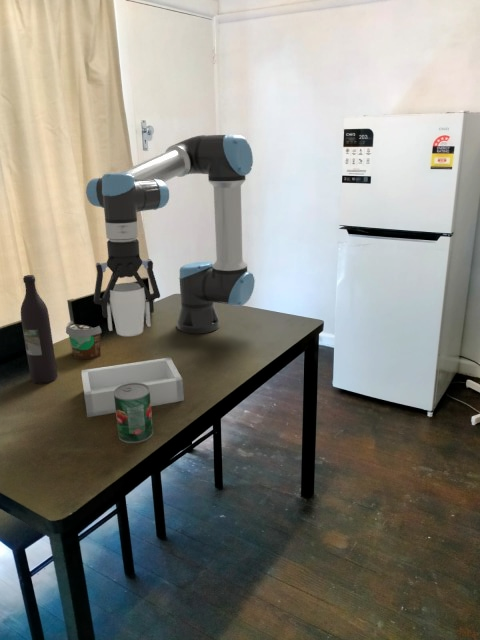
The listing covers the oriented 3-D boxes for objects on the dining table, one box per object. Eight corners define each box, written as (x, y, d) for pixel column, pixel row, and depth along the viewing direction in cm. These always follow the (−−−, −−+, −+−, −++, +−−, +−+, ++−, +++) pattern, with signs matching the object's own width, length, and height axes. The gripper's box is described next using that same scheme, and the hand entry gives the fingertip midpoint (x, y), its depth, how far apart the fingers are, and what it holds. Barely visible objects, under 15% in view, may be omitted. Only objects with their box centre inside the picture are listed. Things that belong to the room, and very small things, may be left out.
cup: (153, 328, 134) (150, 283, 130) (137, 339, 126) (134, 293, 122) (122, 325, 137) (119, 281, 133) (105, 336, 128) (100, 290, 125)
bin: (171, 376, 145) (170, 357, 143) (183, 400, 131) (182, 379, 129) (83, 390, 137) (81, 370, 135) (87, 417, 124) (84, 395, 122)
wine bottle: (30, 376, 146) (13, 274, 136) (55, 371, 149) (41, 271, 139) (32, 386, 140) (15, 280, 130) (59, 381, 143) (44, 277, 133)
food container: (60, 356, 160) (56, 326, 156) (75, 349, 165) (71, 320, 161) (90, 363, 154) (86, 332, 151) (104, 356, 159) (100, 326, 156)
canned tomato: (160, 432, 117) (157, 389, 113) (132, 447, 111) (128, 402, 108) (138, 421, 122) (135, 379, 118) (111, 434, 116) (106, 391, 113)
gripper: (76, 244, 117) (86, 336, 124) (169, 239, 124) (174, 326, 131) (75, 239, 124) (85, 327, 131) (164, 234, 130) (168, 318, 137)
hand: (129, 326), depth 131 cm, fingers closed on cup, 9 cm apart
